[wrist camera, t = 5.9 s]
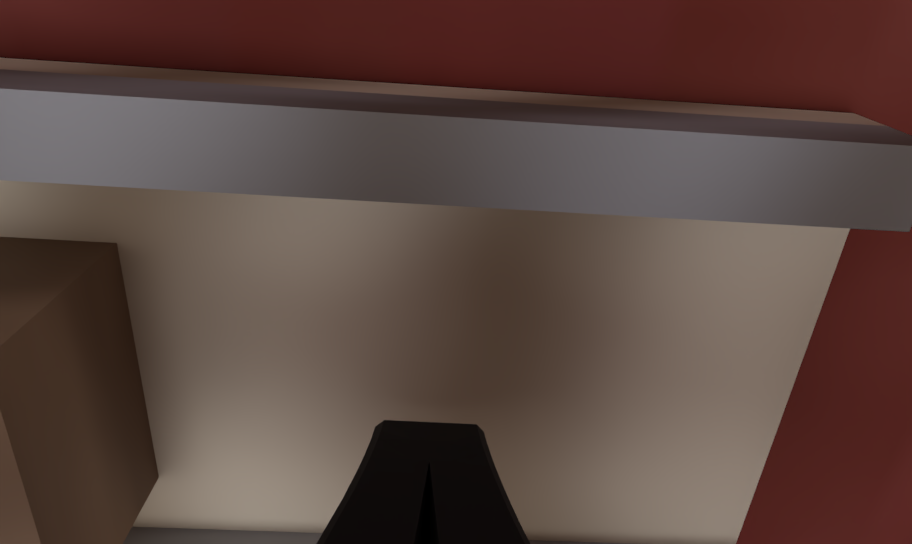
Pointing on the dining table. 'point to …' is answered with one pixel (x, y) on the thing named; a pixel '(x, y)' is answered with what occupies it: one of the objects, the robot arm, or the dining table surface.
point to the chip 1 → (69, 396)
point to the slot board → (449, 283)
